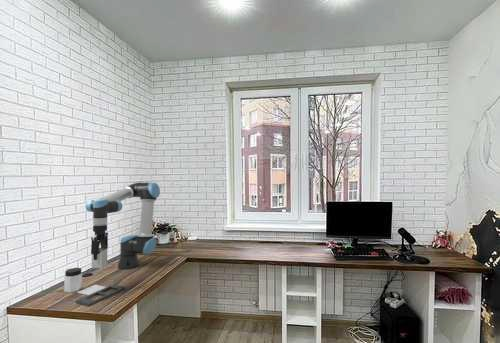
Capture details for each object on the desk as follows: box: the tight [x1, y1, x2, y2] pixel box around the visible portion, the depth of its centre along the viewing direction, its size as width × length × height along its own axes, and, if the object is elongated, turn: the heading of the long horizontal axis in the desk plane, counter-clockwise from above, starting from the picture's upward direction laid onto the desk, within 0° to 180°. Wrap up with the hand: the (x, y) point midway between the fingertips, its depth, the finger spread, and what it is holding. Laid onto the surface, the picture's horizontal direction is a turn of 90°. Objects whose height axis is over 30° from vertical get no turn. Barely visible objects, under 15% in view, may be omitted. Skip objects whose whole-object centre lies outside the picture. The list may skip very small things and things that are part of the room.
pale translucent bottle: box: [91, 246, 108, 269], centre depth 160 cm, size 6×6×11 cm
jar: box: [63, 267, 83, 294], centre depth 161 cm, size 9×8×12 cm
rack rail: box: [75, 284, 126, 307], centre depth 153 cm, size 24×10×1 cm, turn 158°
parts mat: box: [76, 284, 107, 296], centre depth 160 cm, size 12×10×1 cm
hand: (99, 263), depth 160 cm, fingers closed on pale translucent bottle, 6 cm apart
